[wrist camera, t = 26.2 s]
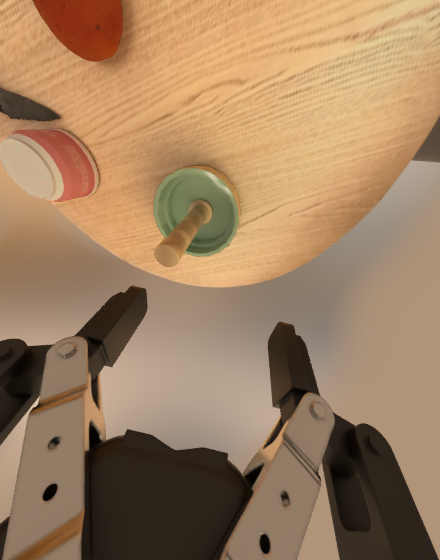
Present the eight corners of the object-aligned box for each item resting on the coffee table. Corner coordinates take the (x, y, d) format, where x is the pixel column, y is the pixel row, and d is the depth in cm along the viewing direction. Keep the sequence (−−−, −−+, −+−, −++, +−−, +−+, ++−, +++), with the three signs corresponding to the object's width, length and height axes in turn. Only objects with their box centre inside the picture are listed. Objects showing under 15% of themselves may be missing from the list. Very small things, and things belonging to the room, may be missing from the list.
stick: (215, 201, 33) (187, 243, 19) (211, 224, 36) (184, 276, 21) (191, 195, 33) (146, 232, 19) (189, 219, 36) (147, 267, 21)
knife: (-52, 104, 29) (-74, 57, 25) (-35, 105, 30) (-55, 61, 27) (59, 150, 31) (52, 112, 28) (69, 148, 33) (63, 113, 29)
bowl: (250, 176, 31) (249, 181, 26) (230, 251, 39) (227, 264, 35) (166, 155, 31) (152, 157, 26) (165, 235, 39) (154, 246, 35)
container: (75, 187, 27) (110, 178, 33) (3, 104, 22) (59, 112, 29) (44, 218, 32) (80, 206, 38) (-22, 155, 27) (31, 152, 33)
